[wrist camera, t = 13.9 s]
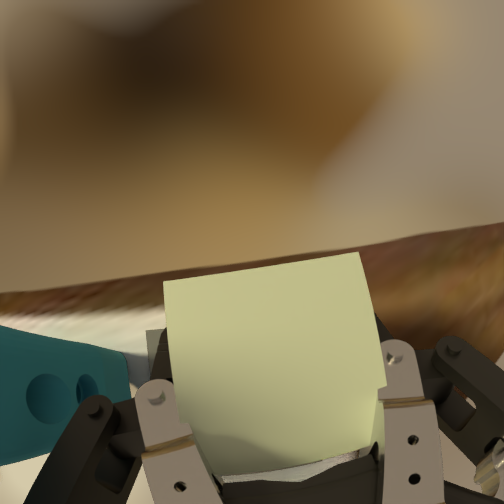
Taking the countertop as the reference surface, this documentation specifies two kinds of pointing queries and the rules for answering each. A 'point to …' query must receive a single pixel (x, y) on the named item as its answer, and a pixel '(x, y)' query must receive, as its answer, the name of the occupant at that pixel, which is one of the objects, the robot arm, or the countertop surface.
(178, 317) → the sage block
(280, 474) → the countertop surface
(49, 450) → the block
